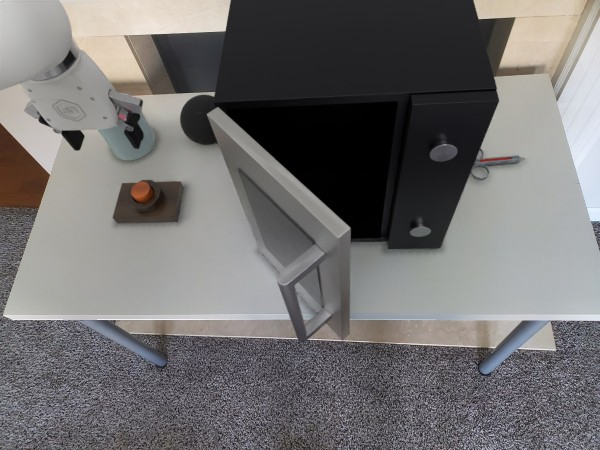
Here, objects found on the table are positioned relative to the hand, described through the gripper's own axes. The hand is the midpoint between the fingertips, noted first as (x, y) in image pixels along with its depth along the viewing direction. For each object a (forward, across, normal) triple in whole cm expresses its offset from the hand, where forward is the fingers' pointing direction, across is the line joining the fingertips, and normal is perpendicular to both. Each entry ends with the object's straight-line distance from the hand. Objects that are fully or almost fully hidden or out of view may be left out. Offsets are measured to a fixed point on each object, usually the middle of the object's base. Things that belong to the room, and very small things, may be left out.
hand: (109, 142), depth 70 cm
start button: (+16, -1, +1) cm, 16 cm away
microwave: (+19, +37, +5) cm, 42 cm away
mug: (+20, -10, +17) cm, 28 cm away
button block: (+20, -1, 0) cm, 20 cm away
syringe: (+20, +63, +8) cm, 67 cm away
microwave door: (+19, +27, -19) cm, 38 cm away
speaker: (+20, +9, +18) cm, 28 cm away
